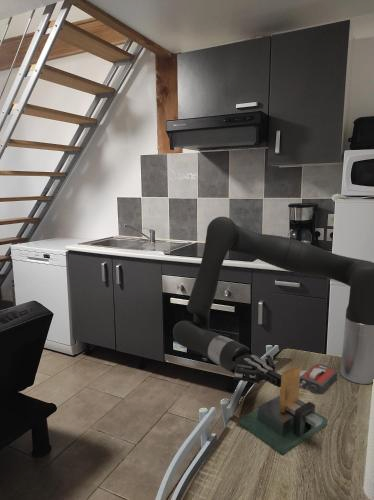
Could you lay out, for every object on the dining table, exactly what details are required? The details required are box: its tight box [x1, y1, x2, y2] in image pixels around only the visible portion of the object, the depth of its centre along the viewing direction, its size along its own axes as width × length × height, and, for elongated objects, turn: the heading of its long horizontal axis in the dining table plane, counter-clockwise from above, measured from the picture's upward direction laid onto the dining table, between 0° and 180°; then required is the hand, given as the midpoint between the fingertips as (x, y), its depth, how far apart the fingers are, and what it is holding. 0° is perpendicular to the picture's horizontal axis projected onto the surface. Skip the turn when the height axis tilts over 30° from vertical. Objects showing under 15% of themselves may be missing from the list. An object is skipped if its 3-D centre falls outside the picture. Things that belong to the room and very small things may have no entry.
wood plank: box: [279, 366, 322, 428], centre depth 79 cm, size 5×8×9 cm, turn 38°
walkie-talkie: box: [279, 363, 338, 395], centre depth 100 cm, size 9×4×20 cm
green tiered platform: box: [239, 395, 328, 455], centre depth 83 cm, size 16×12×7 cm
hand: (282, 382), depth 83 cm, fingers closed
